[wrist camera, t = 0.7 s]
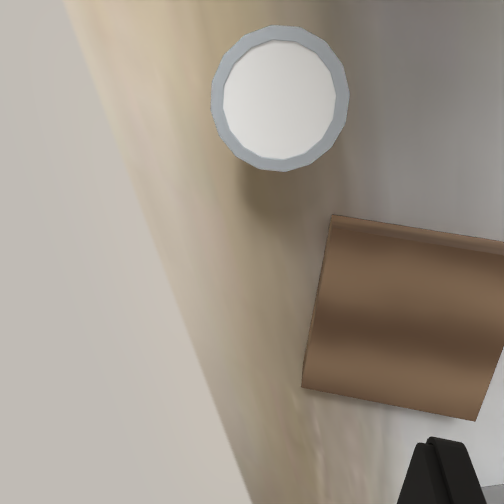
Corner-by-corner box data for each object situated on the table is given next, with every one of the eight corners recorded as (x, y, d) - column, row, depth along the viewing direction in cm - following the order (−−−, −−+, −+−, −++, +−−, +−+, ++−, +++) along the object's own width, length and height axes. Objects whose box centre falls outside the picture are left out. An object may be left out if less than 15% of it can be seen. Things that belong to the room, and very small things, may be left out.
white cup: (295, 174, 30) (287, 199, 24) (214, 106, 30) (182, 113, 23) (368, 88, 28) (381, 90, 21) (281, 12, 27) (267, -10, 21)
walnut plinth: (331, 214, 31) (332, 227, 28) (516, 243, 30) (535, 260, 27) (303, 363, 35) (301, 387, 32) (463, 393, 34) (475, 421, 31)
